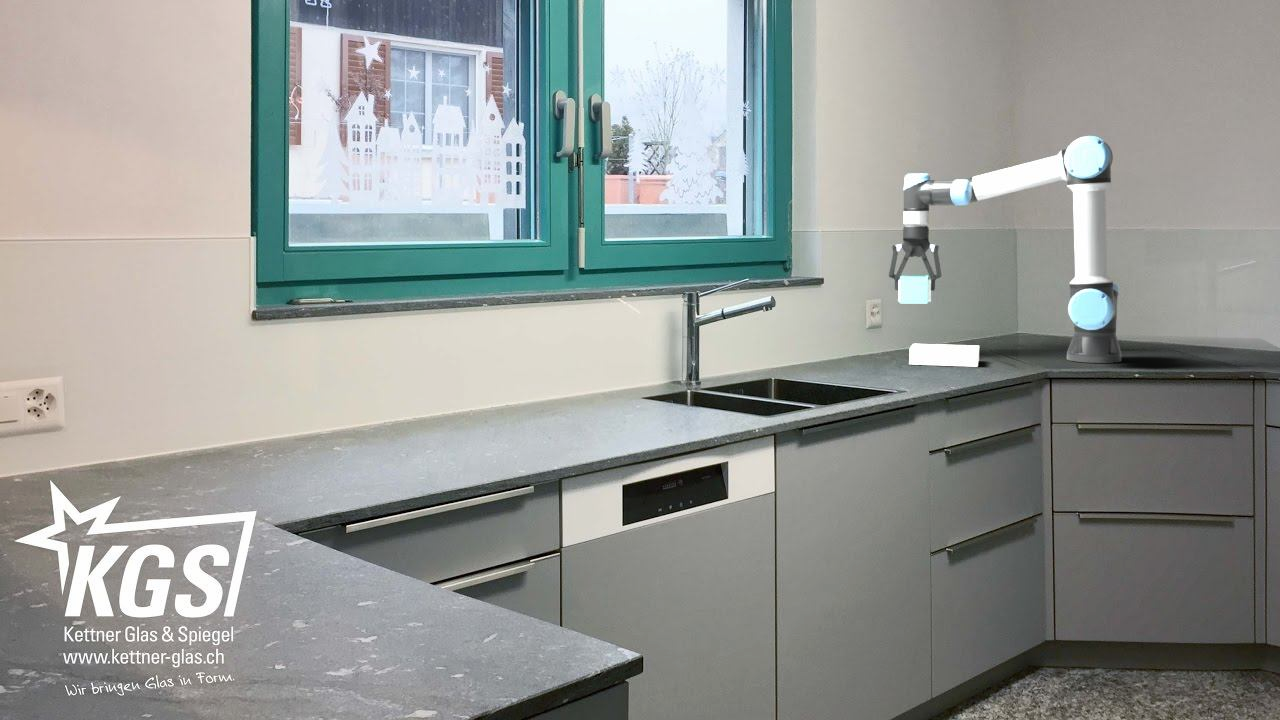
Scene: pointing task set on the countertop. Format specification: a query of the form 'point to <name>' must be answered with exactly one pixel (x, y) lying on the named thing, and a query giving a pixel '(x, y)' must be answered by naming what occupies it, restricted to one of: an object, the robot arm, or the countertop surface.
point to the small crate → (914, 289)
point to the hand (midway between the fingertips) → (914, 301)
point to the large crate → (944, 355)
